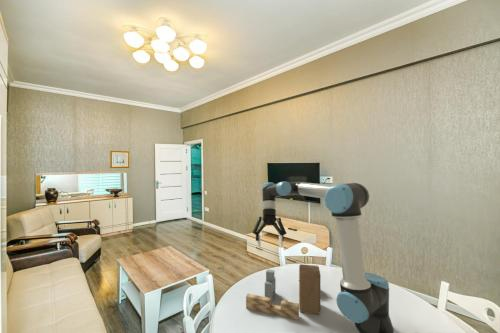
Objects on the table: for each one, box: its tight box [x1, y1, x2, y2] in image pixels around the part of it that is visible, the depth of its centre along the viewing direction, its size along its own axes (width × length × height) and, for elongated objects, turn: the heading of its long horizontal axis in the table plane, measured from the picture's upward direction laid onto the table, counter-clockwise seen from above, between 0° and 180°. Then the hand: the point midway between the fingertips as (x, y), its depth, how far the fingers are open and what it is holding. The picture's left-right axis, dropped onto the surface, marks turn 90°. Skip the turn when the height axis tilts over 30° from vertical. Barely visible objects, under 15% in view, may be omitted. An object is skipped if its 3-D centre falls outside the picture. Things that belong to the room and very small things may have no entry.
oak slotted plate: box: [245, 293, 300, 320], centre depth 112 cm, size 26×2×6 cm, turn 71°
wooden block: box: [298, 263, 321, 315], centre depth 115 cm, size 10×10×20 cm
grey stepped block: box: [264, 268, 277, 302], centre depth 126 cm, size 8×4×14 cm, turn 161°
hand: (270, 247), depth 126 cm, fingers open, 13 cm apart
